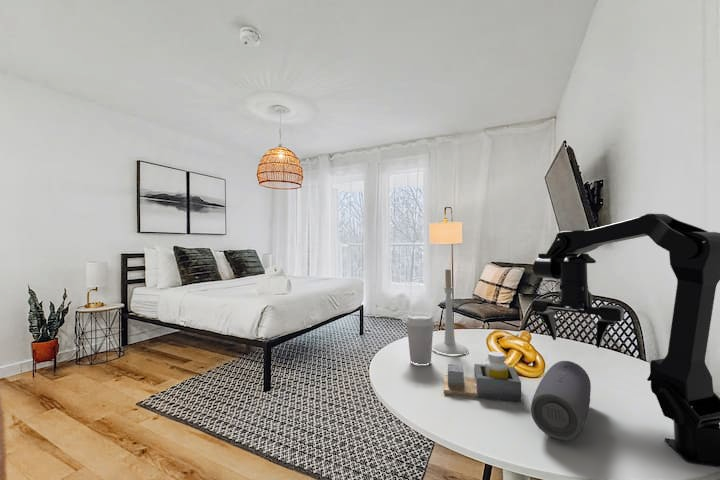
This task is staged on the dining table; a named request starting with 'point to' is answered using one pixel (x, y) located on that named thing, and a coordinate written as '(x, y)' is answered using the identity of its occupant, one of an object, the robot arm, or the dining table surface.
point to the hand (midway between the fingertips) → (575, 343)
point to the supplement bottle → (496, 365)
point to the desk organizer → (482, 384)
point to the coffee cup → (420, 337)
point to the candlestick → (449, 324)
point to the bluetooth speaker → (562, 400)
